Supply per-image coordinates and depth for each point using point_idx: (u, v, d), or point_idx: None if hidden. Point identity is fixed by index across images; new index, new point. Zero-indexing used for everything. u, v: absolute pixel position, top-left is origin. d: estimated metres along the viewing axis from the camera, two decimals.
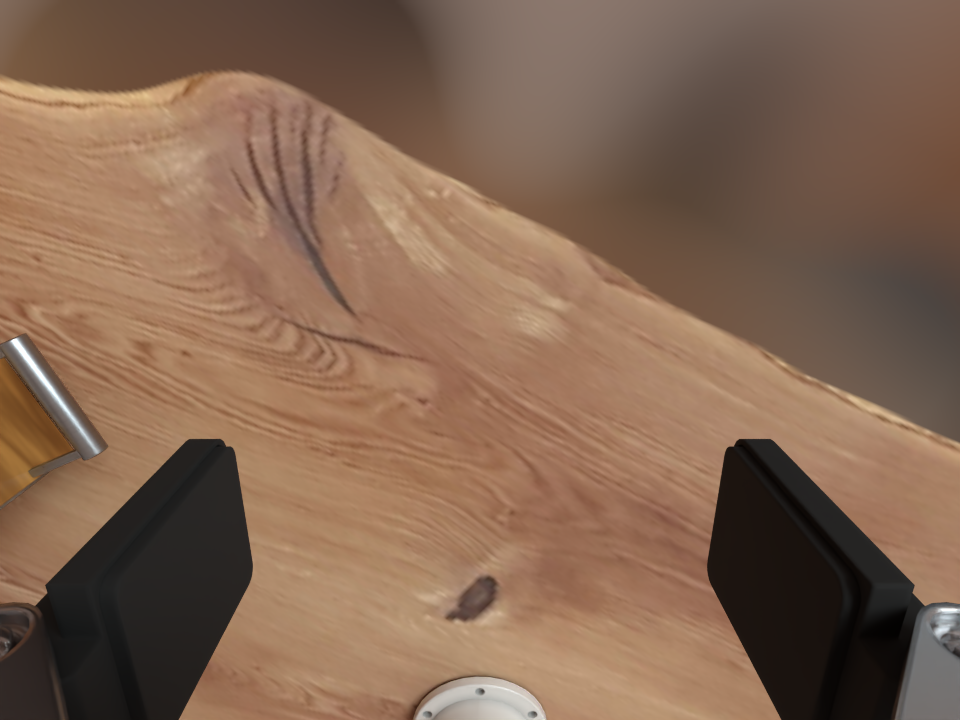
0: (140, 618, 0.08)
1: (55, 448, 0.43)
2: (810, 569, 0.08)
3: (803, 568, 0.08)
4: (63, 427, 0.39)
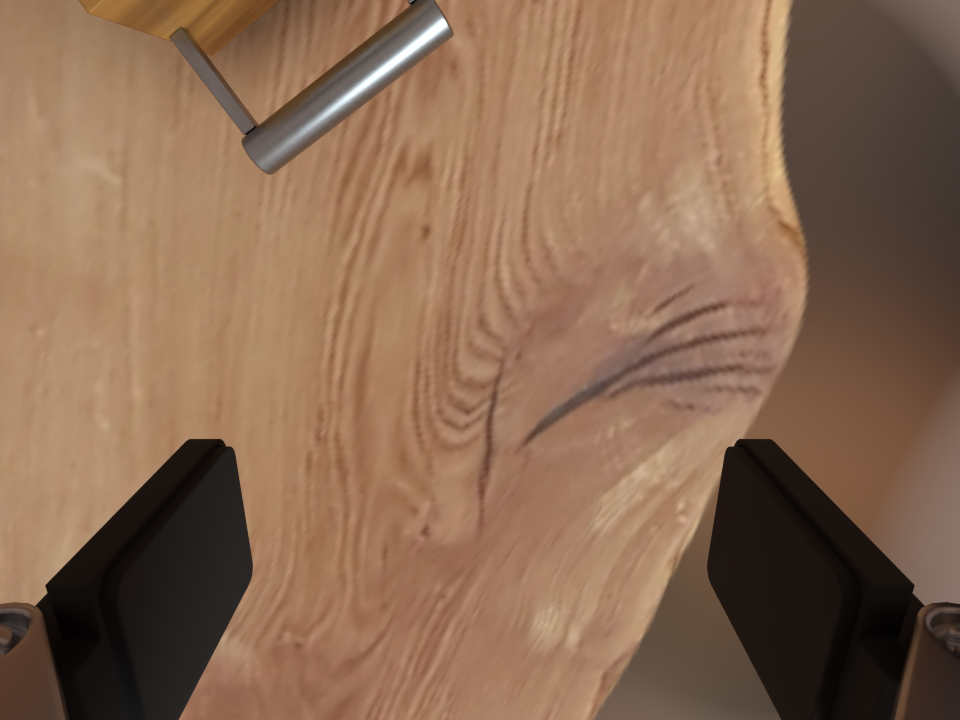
0: (140, 618, 0.08)
1: (216, 38, 0.24)
2: (810, 569, 0.08)
3: (803, 568, 0.08)
4: (301, 114, 0.22)
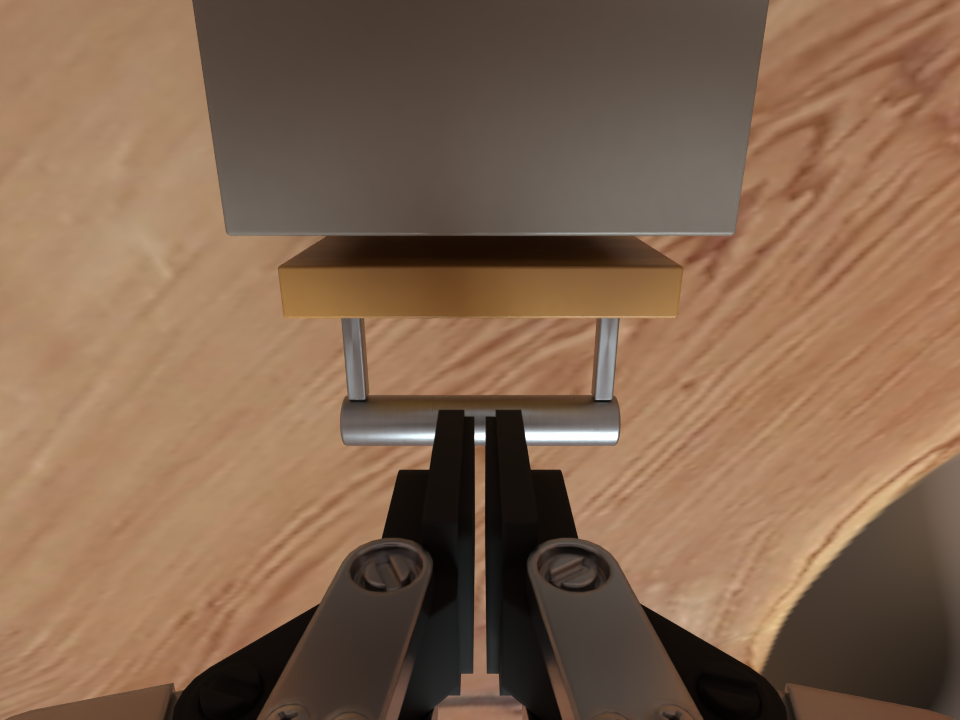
0: (472, 556, 0.09)
1: None
2: None
3: None
4: (422, 429, 0.19)
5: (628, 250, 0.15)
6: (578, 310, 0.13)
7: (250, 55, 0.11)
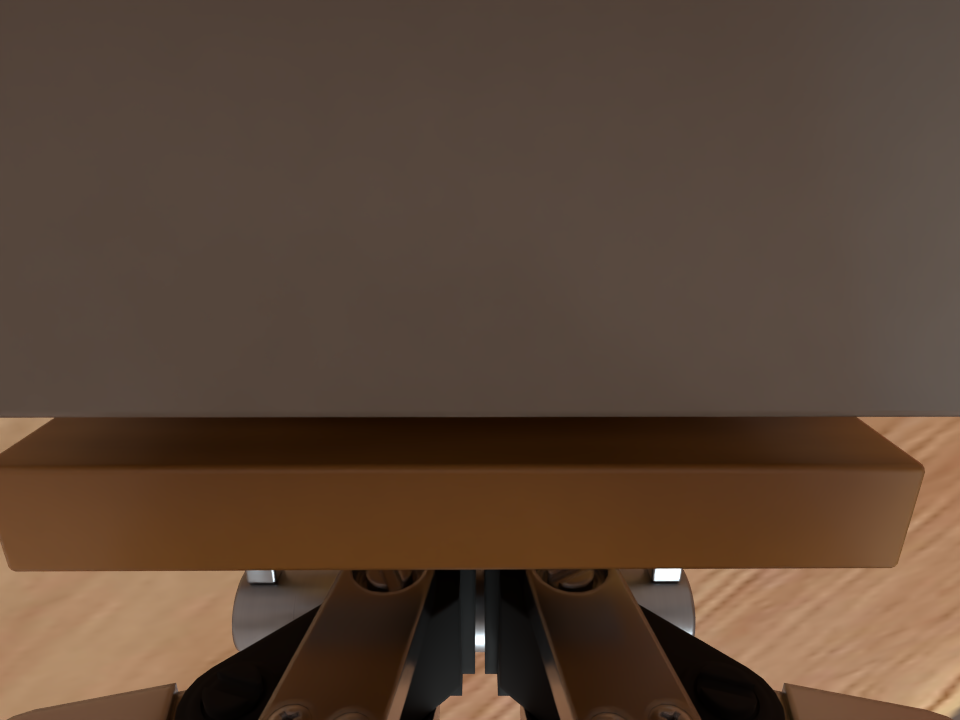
0: None
1: None
2: None
3: None
4: None
5: None
6: (678, 554, 0.06)
7: None
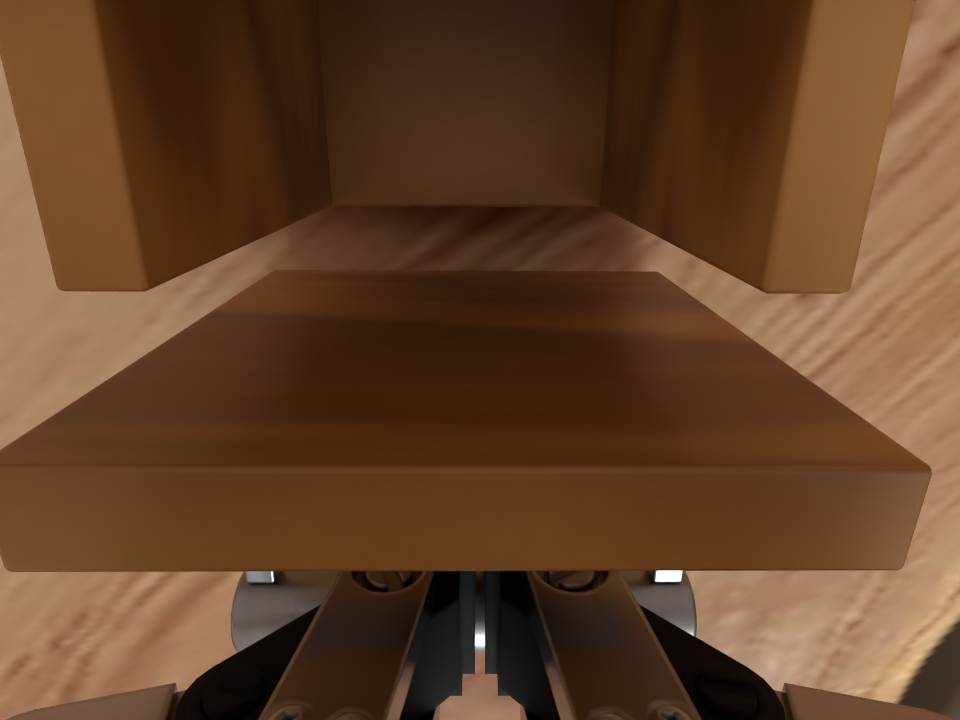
0: None
1: None
2: None
3: None
4: None
5: (759, 385, 0.07)
6: (683, 556, 0.06)
7: None
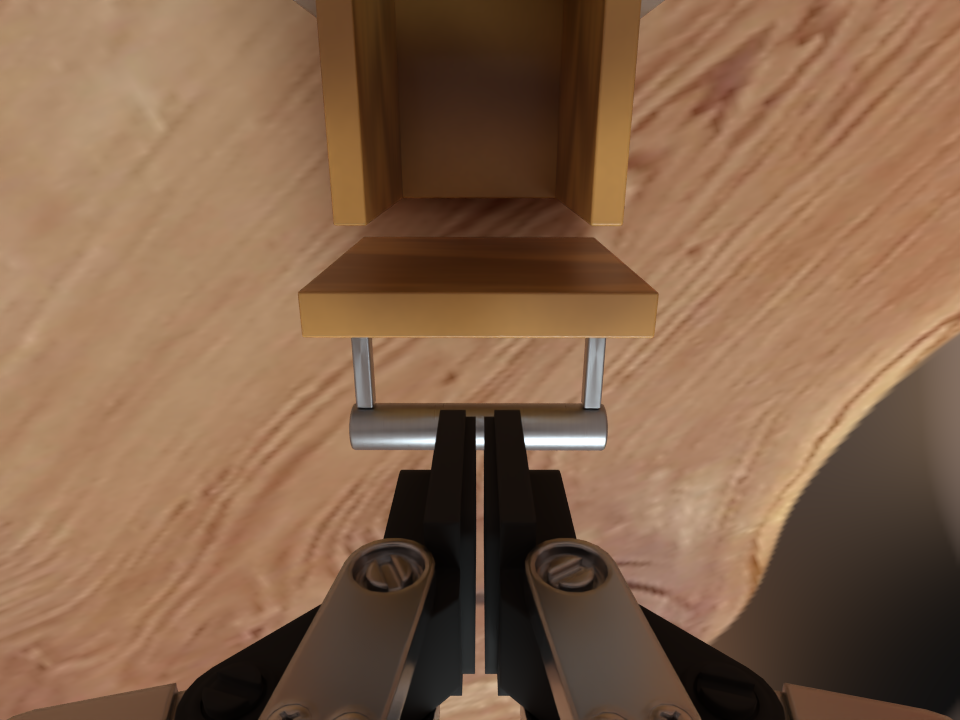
0: (474, 556, 0.09)
1: None
2: None
3: None
4: (425, 435, 0.20)
5: (612, 275, 0.17)
6: (565, 330, 0.15)
7: None
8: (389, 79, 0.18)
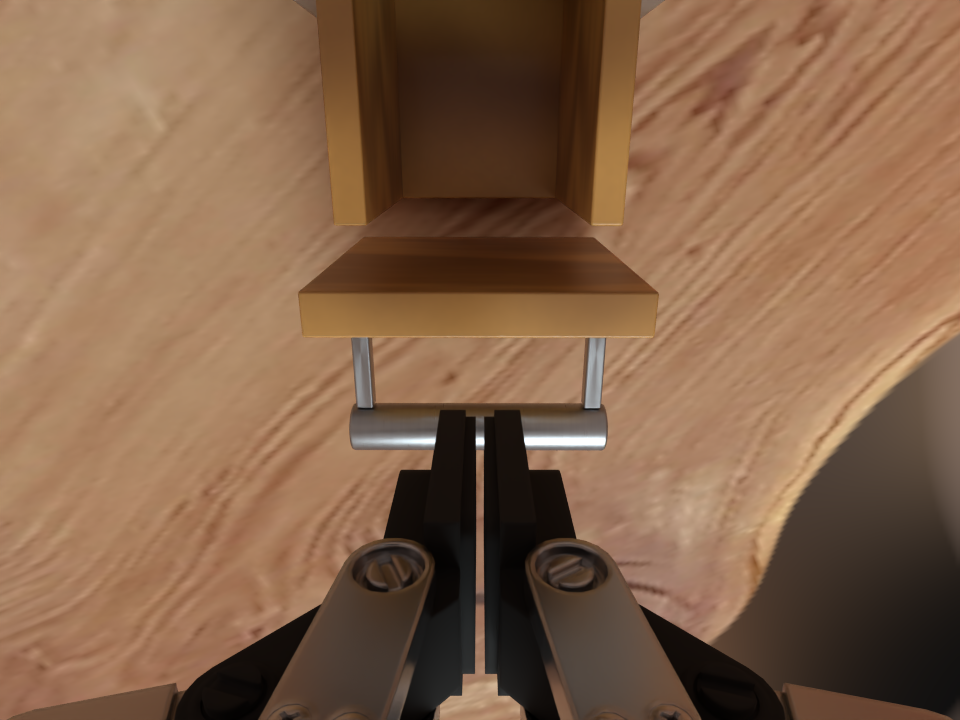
0: (474, 556, 0.09)
1: None
2: None
3: None
4: (425, 435, 0.20)
5: (612, 275, 0.17)
6: (566, 330, 0.15)
7: None
8: (389, 79, 0.18)
